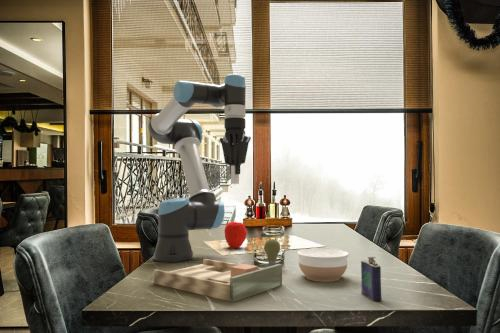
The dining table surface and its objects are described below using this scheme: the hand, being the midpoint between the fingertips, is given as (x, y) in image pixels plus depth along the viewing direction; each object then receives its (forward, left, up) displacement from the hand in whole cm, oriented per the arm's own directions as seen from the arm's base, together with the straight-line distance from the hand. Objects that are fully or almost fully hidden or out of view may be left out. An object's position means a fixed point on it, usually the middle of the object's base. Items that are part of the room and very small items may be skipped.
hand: (234, 183), depth 154 cm
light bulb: (+12, +6, -30) cm, 33 cm away
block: (+23, -23, -27) cm, 42 cm away
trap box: (+12, -23, -29) cm, 39 cm away
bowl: (+33, +4, -30) cm, 45 cm away
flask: (+54, -8, -30) cm, 62 cm away
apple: (-26, +31, -30) cm, 50 cm away
